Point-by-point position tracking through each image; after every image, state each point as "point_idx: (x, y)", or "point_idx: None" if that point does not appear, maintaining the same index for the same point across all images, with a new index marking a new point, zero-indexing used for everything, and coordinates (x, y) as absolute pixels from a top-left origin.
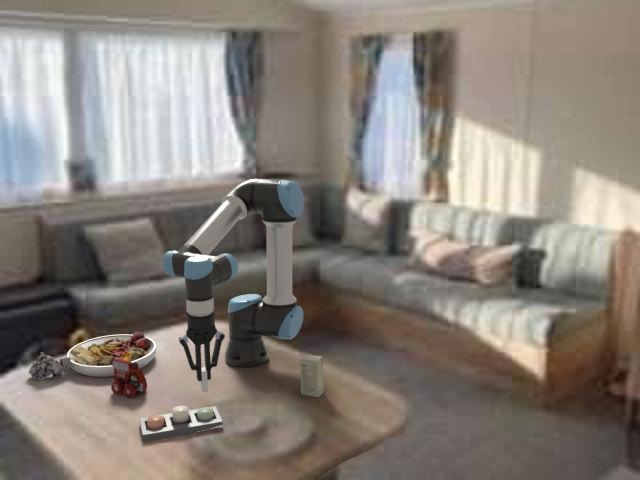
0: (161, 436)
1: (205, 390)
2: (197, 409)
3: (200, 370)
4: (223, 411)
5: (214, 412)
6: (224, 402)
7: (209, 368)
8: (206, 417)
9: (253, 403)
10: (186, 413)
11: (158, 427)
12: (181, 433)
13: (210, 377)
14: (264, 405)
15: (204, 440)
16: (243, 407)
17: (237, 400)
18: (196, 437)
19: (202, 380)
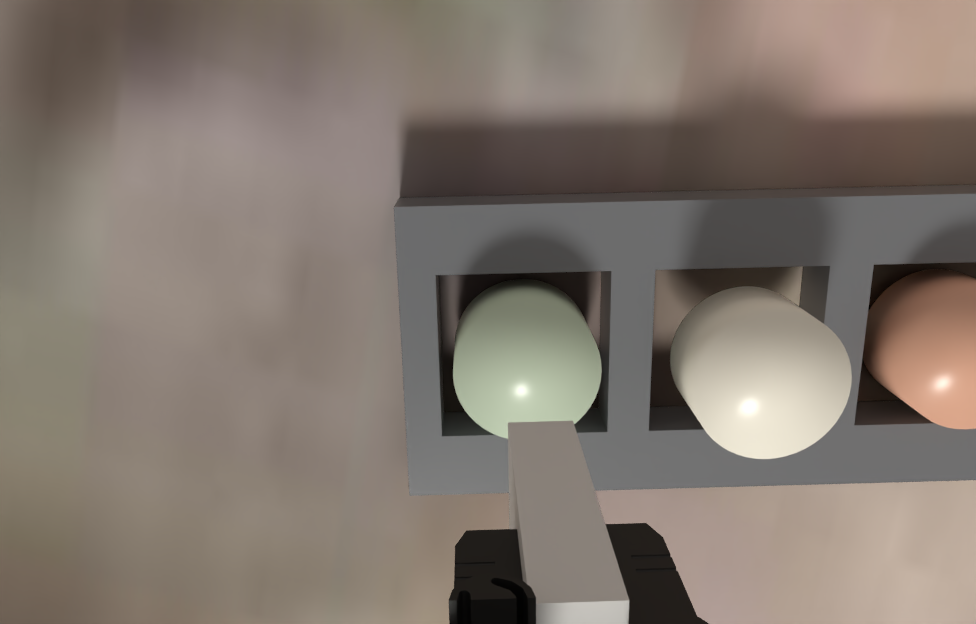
0: (916, 189)
1: (540, 432)
2: None
3: (654, 620)
4: (353, 463)
5: (438, 389)
6: (325, 596)
7: (482, 621)
8: (526, 294)
9: (98, 518)
10: (720, 323)
11: (942, 278)
12: (750, 192)
13: (462, 550)
14: (9, 461)
15: (585, 33)
16: (186, 479)
17: (220, 598)
18: (639, 109)
19: (594, 504)
